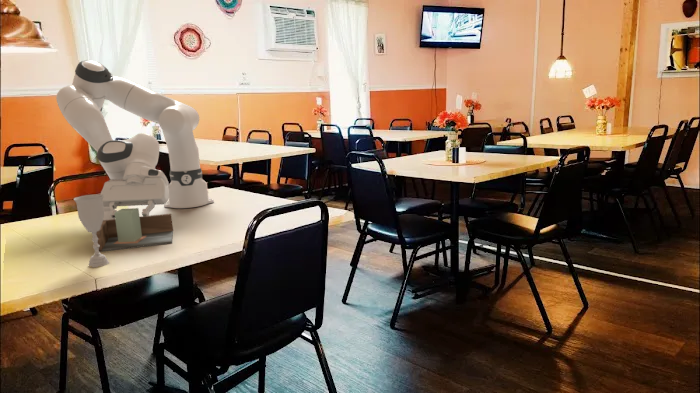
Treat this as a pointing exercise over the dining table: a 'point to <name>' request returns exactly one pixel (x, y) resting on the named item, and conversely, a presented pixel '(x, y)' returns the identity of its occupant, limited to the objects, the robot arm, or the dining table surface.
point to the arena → (152, 229)
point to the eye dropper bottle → (107, 213)
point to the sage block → (128, 225)
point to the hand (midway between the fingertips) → (129, 216)
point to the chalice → (92, 222)
